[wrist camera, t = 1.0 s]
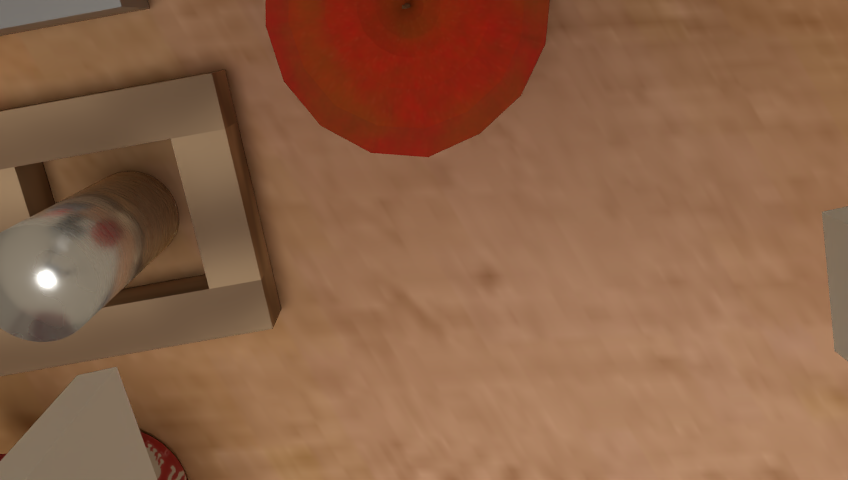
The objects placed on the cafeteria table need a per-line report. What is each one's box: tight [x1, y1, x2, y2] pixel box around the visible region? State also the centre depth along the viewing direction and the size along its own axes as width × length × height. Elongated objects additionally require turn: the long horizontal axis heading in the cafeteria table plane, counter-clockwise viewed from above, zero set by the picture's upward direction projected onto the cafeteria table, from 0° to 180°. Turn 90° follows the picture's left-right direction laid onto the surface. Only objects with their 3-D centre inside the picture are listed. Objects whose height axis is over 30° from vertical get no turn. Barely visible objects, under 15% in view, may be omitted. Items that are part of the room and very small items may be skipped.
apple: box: [266, 0, 550, 157], centre depth 29 cm, size 10×10×12 cm
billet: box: [0, 171, 179, 342], centre depth 31 cm, size 4×4×10 cm
